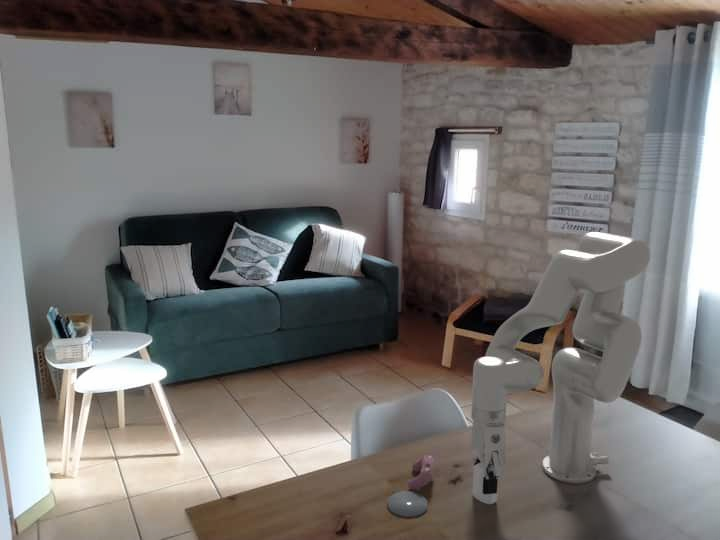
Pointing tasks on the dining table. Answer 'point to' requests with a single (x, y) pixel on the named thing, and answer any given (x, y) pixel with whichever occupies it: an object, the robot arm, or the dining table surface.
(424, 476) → the video game controller
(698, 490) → the dining table surface
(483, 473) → the eye dropper bottle
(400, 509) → the glossy grey pebble
